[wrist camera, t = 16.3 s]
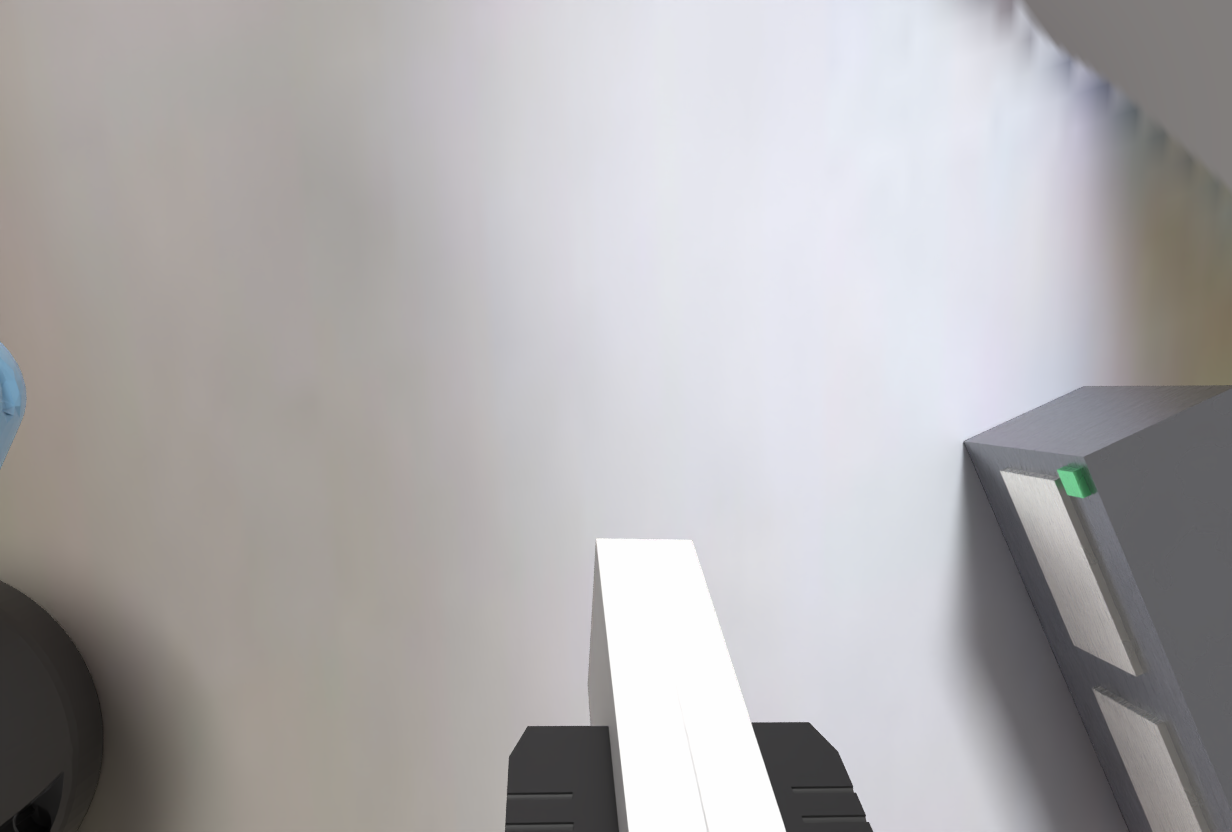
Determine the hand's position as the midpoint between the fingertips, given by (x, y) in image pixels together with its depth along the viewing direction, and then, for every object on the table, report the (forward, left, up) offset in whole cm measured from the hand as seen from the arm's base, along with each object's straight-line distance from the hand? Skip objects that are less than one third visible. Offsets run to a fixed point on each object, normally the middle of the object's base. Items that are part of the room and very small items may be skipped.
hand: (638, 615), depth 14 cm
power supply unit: (+19, -16, -24) cm, 34 cm away
